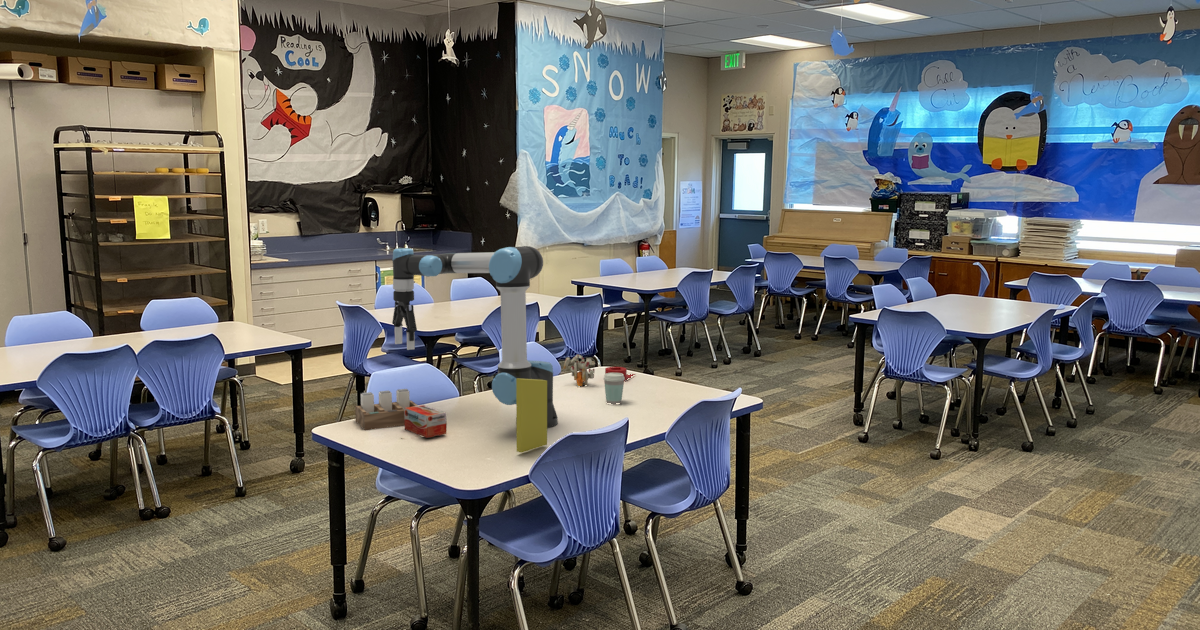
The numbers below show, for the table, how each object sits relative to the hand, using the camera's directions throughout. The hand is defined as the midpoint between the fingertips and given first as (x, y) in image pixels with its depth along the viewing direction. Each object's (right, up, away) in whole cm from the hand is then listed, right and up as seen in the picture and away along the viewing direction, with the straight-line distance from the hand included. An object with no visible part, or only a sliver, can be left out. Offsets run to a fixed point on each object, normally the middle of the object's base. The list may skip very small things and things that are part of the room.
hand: (404, 346), depth 321 cm
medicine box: (+12, -29, -23) cm, 39 cm away
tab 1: (-11, -24, -12) cm, 28 cm away
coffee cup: (+79, -24, +20) cm, 85 cm away
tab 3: (+1, -23, -5) cm, 24 cm away
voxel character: (+64, -20, +46) cm, 82 cm away
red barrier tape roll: (+83, -18, +62) cm, 105 cm away
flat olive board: (+51, -32, -41) cm, 73 cm away
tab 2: (-5, -23, -8) cm, 25 cm away
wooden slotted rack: (-3, -27, -11) cm, 29 cm away
